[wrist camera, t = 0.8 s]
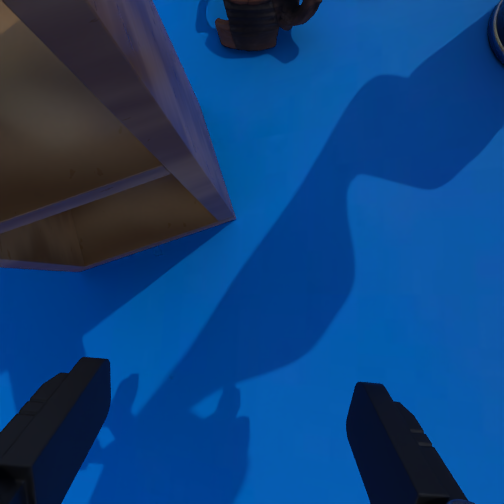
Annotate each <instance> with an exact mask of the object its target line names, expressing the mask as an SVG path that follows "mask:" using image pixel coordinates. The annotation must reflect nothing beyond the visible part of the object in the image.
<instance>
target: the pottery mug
mask: <svg viewBox="0 0 504 504" xmlns="http://www.w3.org/2000/svg"><path fill="white" fill-rule="evenodd" d="M223 1H224V6H225V9H226V12H227V17H228V19H229V20H222V19H220V18H217V19H216V21H215V25H216V29H217V32H218V35H219V37H220V41H221V44H223V45H224V46H226V47H229V48H234V49H238V50H246V51H258V50H259V51H260V50H264V49H269V48H272V47H274V46H275V45H276V37H277V35H278V30H279V27H281V28H282V29H283V30H285V31H288V30H290V29H291V28H292V26H297V25H300V24H304V23H306V22H307V21H308V20H309V19H310V18H311V17H312V16H313V15H314V14H315V12H316V11H317V9H318V7H319V5H320V3H321V2H322V0H303V2H302V4H301V5H299V0H223Z"/></svg>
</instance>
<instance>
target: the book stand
mask: <svg viewBox="0 0 504 504" xmlns="http://www.w3.org/2000/svg"><path fill="white" fill-rule="evenodd" d="M235 219H236V217H235V214H234V211H233V207H232V204H231V201H230V198H229V195H228V192H227V189H226V186H225V182H224V179H223V176H222V173H221V170H220V167H219V164H218V161H217V157H216V154H215V151H214V148H213V145H212V142H211V139H210V136H209V133H208V129H207V126H206V123H205V120H204V117H203V114H202V111H201V108H200V105H199V102H198V100H197V98H196V96H195V94H194V91H193V89H192V87H191V85H190V83H189V80H188V78H187V76H186V74H185V72H184V69H183V67H182V65H181V63H180V61H179V58H178V56H177V54H176V52H175V50H174V47H173V45H172V43H171V41H170V38H169V36H168V34H167V32H166V30H165V27H164V25H163V23H162V21H161V19H160V16H159V14H158V12H157V10H156V8H155V5H154V3H153V1H152V0H0V267H3V268H19V269H36V270H52V271H69V272H81V271H83V270H86V269H89V268H92V267H95V266H98V265H101V264H104V263H107V262H110V261H113V260H116V259H119V258H122V257H125V256H128V255H131V254H134V253H137V252H140V251H143V250H146V249H149V248H152V247H155V246H158V245H160V244H163V243H166V242H169V241H172V240H175V239H178V238H181V237H184V236H187V235H190V234H193V233H196V232H199V231H202V230H205V229H208V228H211V227H214V226H217V225H220V224H223V223H226V222H229V221H232V220H235Z"/></svg>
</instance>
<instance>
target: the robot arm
mask: <svg viewBox="0 0 504 504" xmlns="http://www.w3.org/2000/svg"><path fill="white" fill-rule="evenodd" d="M488 37H489V42H490V45H491V47H492V50H493V52H494V53H495V55H496V56H497V58H498V59H499V60H500V61H501V62H502V63H503V64H504V0H501V1H500V2H499V3H498V4H497V6H496V7H495V9H494V11H493V13H492V15H491V17H490V21H489V26H488ZM110 401H111V384H110V362H109V360H108V359H101V358H90V357H83V358H81V359H80V360H79V361H78V362H77V364H76V365H75V366H74V367H73V369H72V370H71V371H70V372H69V373H59V374H58V375H56V376H55V377H53V378H52V379H50V380H48V381H47V382H45V383H44V384H43V385H42V386H41V387H40V388H39V389H38V390H37V391H36V393H35V394H34V395H33V396H32V397H31V398H30V401H28V402H27V403H26V404H25V405H24V406H23V407H22V408H21V410H20V412H19V414H16V415H15V416H14V418H13V419H12V420H11V421H10V422H9V423H8V424H7V425H6V427H5V428H4V429H3V430H2V431H1V432H0V504H61V503H62V501H63V499H64V497H65V495H66V493H67V491H68V490H69V488H70V486H71V484H72V482H73V480H74V478H75V476H76V474H77V473H78V471H79V469H80V467H81V465H82V463H83V461H84V459H85V457H86V455H87V454H88V452H89V450H90V448H91V446H92V444H93V442H94V440H95V438H96V437H97V435H98V433H99V431H100V429H101V427H102V425H103V423H104V421H105V419H106V417H107V414H108V411H109V407H110ZM346 431H347V437H348V441H349V444H350V446H351V449H352V452H353V455H354V458H355V460H356V463H357V466H358V469H359V472H360V475H361V477H362V480H363V483H364V486H365V489H366V491H367V494H368V497H369V500H370V503H371V504H475V503H472V502H470V501H468V500H467V498H466V497H465V495H464V493H463V492H462V490H461V489H460V487H459V486H458V484H457V482H456V481H455V479H454V478H453V476H452V475H451V473H450V471H449V470H448V468H447V467H446V465H445V464H444V462H443V460H442V459H441V457H440V456H439V454H438V453H437V451H436V450H435V448H434V447H432V443H431V442H430V440H429V439H428V437H427V435H426V434H424V431H423V429H422V428H421V426H420V424H419V423H418V421H417V420H416V418H415V417H414V415H413V414H412V413H410V412H409V411H408V410H407V409H406V408H405V407H404V406H403V405H402V404H401V403H400V402H393V400H392V398H391V397H390V395H389V393H388V391H387V390H386V388H385V387H384V385H382V384H379V383H367V382H358V383H357V384H356V386H355V389H354V393H353V397H352V400H351V404H350V408H349V412H348V416H347V421H346Z"/></svg>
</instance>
